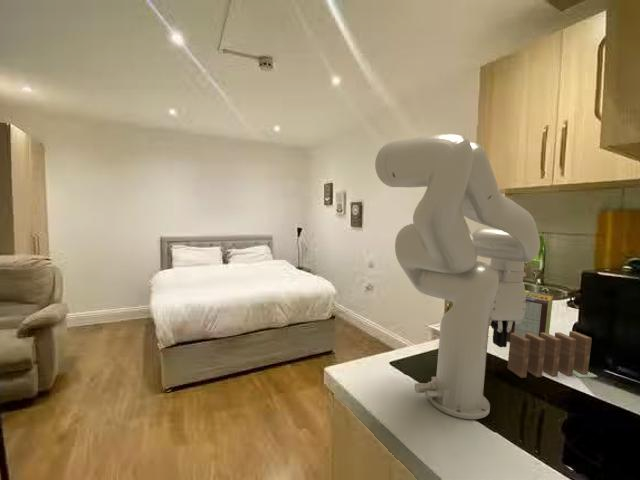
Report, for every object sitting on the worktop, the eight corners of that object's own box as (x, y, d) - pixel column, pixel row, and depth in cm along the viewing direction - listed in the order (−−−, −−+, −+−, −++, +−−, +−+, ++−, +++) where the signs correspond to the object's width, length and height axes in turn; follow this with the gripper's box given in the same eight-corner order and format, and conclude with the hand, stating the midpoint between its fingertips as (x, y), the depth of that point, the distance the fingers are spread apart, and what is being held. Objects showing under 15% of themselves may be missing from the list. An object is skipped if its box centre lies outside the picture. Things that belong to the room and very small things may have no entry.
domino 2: (536, 377, 85) (540, 340, 85) (522, 368, 90) (525, 332, 90) (541, 377, 86) (545, 339, 85) (527, 367, 91) (531, 332, 90)
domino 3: (551, 376, 86) (555, 339, 85) (536, 367, 91) (540, 332, 90) (557, 376, 86) (561, 339, 85) (541, 367, 91) (545, 332, 90)
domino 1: (520, 377, 85) (524, 340, 84) (507, 368, 90) (510, 332, 89) (526, 377, 85) (530, 340, 84) (512, 368, 90) (516, 332, 89)
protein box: (548, 337, 115) (553, 294, 113) (543, 351, 103) (548, 302, 102) (514, 329, 121) (518, 288, 120) (506, 341, 110) (510, 296, 108)
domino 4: (567, 376, 87) (571, 339, 86) (551, 367, 92) (555, 332, 91) (572, 376, 87) (576, 339, 86) (556, 367, 92) (560, 332, 91)
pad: (578, 377, 86) (578, 376, 86) (556, 365, 93) (556, 364, 93) (597, 377, 87) (597, 376, 87) (573, 364, 94) (573, 363, 94)
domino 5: (582, 374, 87) (586, 338, 86) (565, 365, 92) (569, 331, 91) (587, 374, 88) (591, 338, 87) (570, 365, 92) (574, 331, 92)
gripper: (521, 273, 89) (514, 339, 91) (470, 273, 87) (464, 340, 89) (543, 279, 82) (536, 350, 83) (488, 279, 80) (482, 352, 81)
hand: (499, 345), depth 86 cm, fingers closed
